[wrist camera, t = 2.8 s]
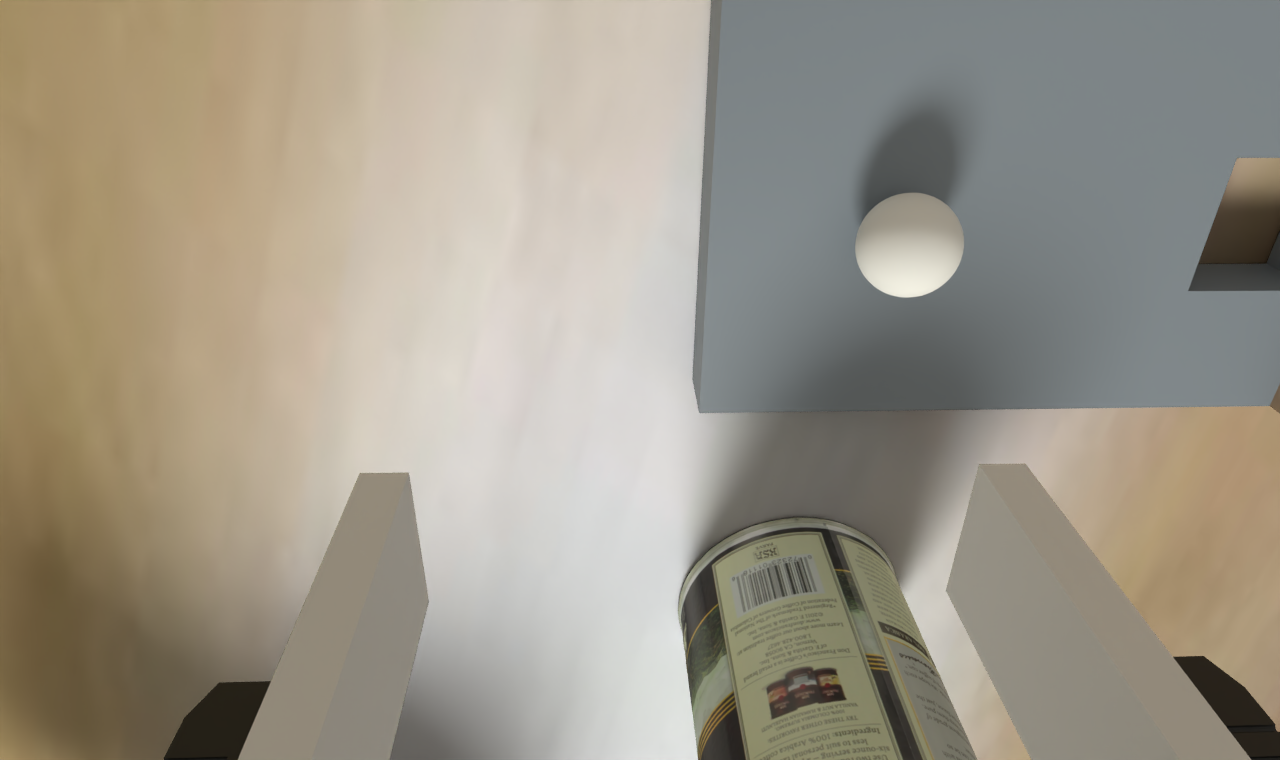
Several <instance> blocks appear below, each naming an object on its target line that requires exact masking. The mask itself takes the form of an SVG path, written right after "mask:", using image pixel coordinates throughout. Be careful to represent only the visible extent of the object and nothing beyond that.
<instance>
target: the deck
mask: <svg viewBox="0 0 1280 760" xmlns="http://www.w3.org/2000/svg"><path fill="white" fill-rule="evenodd" d="M1237 158H1280V0H711V16H710V36H709V56H708V77H707V97H706V117H705V137H704V158H703V178H702V198H701V219H700V239H699V259H698V280H697V300H696V320H695V340H694V361H693V384H694V389H695V394H696V399H697V404H698V409H699V413H735V412H816V411H897V410H978V409H1059V408H1141V407H1222V406H1271V407H1272V408H1273V409H1275V410H1276V411H1277V412H1279V413H1280V232H1279V234H1278V236H1277V239H1276V241H1275V244H1274V246H1273V249H1272V251H1271V254H1270V256H1269V258H1268V261H1267V263H1266V264H1198V262H1199V260H1200V257H1201V254H1202V252H1203V249H1204V246H1205V243H1206V241H1207V238H1208V235H1209V232H1210V230H1211V227H1212V224H1213V222H1214V219H1215V216H1216V213H1217V211H1218V208H1219V205H1220V203H1221V200H1222V197H1223V194H1224V192H1225V189H1226V186H1227V183H1228V181H1229V178H1230V175H1231V173H1232V170H1233V167H1234V164H1235V162H1236V159H1237ZM902 193H922V194H927V195H930V196H933V197H935V198H937V199H939V200H941V201H942V202H944V203H945V204H946V205H948V206H949V208H950V209H951V210H952V211H953V212H954V213H955V215H956V216H957V218H958V220H959V222H960V224H961V227H962V230H963V235H964V250H963V255H962V258H961V261H960V264H959V266H958V268H957V270H956V271H955V273H954V274H953V275H952V277H951V278H950V279H949V280H948V281H947V282H946V283H945V284H943V285H942V286H941V287H939V288H938V289H936V290H934V291H933V292H930V293H928V294H925V295H922V296H917V297H908V298H905V297H897V296H892V295H889V294H886V293H884V292H882V291H880V290H878V289H877V288H876V287H874V286H873V285H872V284H871V283H870V282H869V281H868V280H867V279H866V278H865V277H864V275H863V273H862V272H861V270H860V268H859V265H858V263H857V259H856V253H855V242H856V237H857V232H858V229H859V227H860V225H861V223H862V221H863V219H864V218H865V216H866V215H867V214H868V213H869V212H870V210H872V209H873V208H874V207H875V206H876V205H877V204H879V203H880V202H882V201H883V200H885V199H887V198H889V197H891V196H894V195H897V194H902Z"/></svg>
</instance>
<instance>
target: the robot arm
mask: <svg viewBox="0 0 1280 760" xmlns="http://www.w3.org/2000/svg"><path fill="white" fill-rule="evenodd" d="M946 592H947V594H948V596H949V598H950V600H951V602H952V603H953V605H954V607H955V609H956V611H957V613H958V615H959V617H960V619H961V621H962V623H963V625H964V627H965V629H966V631H967V633H968V635H969V637H970V639H971V641H972V643H973V645H974V647H975V649H976V651H977V653H978V655H979V657H980V659H981V661H982V663H983V665H984V667H985V669H986V671H987V673H988V675H989V677H990V679H991V681H992V683H993V685H994V687H995V689H996V690H997V692H998V694H999V696H1000V698H1001V700H1002V702H1003V704H1004V706H1005V708H1006V710H1007V712H1008V714H1009V716H1010V718H1011V720H1012V722H1013V724H1014V726H1015V728H1016V730H1017V732H1018V734H1019V736H1020V738H1021V740H1022V742H1023V744H1024V746H1025V748H1026V750H1027V752H1028V754H1029V756H1030V758H1031V760H1280V732H1277V731H1276V729H1275V723H1274V722H1273V721H1272V720H1271V719H1270V717H1269V716H1268V715H1267V714H1266V713H1265V711H1264V710H1263V709H1262V708H1261V707H1260V705H1259V704H1258V703H1257V702H1256V700H1255V699H1254V698H1253V697H1252V696H1251V694H1250V693H1249V692H1248V691H1247V690H1246V688H1245V687H1243V686H1242V685H1241V684H1239V683H1238V682H1237V681H1236V680H1234V679H1233V678H1232V677H1230V676H1229V675H1228V674H1226V673H1225V672H1224V671H1222V670H1221V669H1220V668H1218V667H1217V666H1216V665H1214V664H1213V663H1212V662H1211V661H1209V660H1208V659H1207V658H1205V657H1204V656H1188V657H1172V655H1171V654H1170V653H1169V651H1168V650H1167V649H1166V647H1165V646H1164V645H1163V643H1162V642H1161V641H1160V640H1159V638H1158V637H1157V636H1156V634H1155V633H1154V632H1153V630H1152V629H1151V628H1150V626H1149V625H1148V624H1147V622H1146V621H1145V620H1144V619H1143V617H1142V616H1141V615H1140V613H1139V612H1138V611H1137V609H1136V608H1135V607H1134V605H1133V604H1132V603H1131V602H1130V600H1129V599H1128V598H1127V596H1126V595H1125V594H1124V592H1123V591H1122V590H1121V588H1120V587H1119V586H1118V585H1117V583H1116V582H1115V581H1114V579H1113V578H1112V577H1111V575H1110V574H1109V573H1108V571H1107V570H1106V569H1105V568H1104V566H1103V565H1102V564H1101V562H1100V561H1099V560H1098V558H1097V557H1096V556H1095V554H1094V553H1093V552H1092V550H1091V549H1090V548H1089V547H1088V545H1087V544H1086V543H1085V541H1084V540H1083V539H1082V537H1081V536H1080V535H1079V533H1078V532H1077V531H1076V530H1075V528H1074V527H1073V526H1072V524H1071V523H1070V522H1069V520H1068V519H1067V518H1066V516H1065V515H1064V514H1063V513H1062V511H1061V510H1060V509H1059V507H1058V506H1057V505H1056V503H1055V502H1054V501H1053V499H1052V498H1051V497H1050V495H1049V494H1048V493H1047V492H1046V490H1045V489H1044V488H1043V486H1042V485H1041V484H1040V482H1039V481H1038V480H1037V478H1036V477H1035V476H1034V475H1033V473H1032V472H1031V471H1030V469H1029V468H1028V467H1027V465H1026V464H979V467H978V470H977V474H976V478H975V482H974V486H973V489H972V493H971V497H970V501H969V505H968V508H967V512H966V516H965V520H964V524H963V527H962V531H961V535H960V539H959V543H958V547H957V550H956V554H955V558H954V562H953V566H952V569H951V573H950V577H949V581H948V585H947V588H946ZM428 602H429V600H428V593H427V587H426V580H425V574H424V567H423V561H422V555H421V548H420V542H419V535H418V529H417V522H416V516H415V509H414V503H413V496H412V490H411V484H410V477H409V473H360V474H359V476H358V478H357V481H356V483H355V485H354V488H353V490H352V492H351V495H350V497H349V500H348V502H347V504H346V507H345V509H344V511H343V514H342V516H341V518H340V521H339V523H338V525H337V528H336V530H335V532H334V535H333V537H332V539H331V542H330V544H329V546H328V549H327V551H326V554H325V556H324V558H323V561H322V563H321V565H320V568H319V570H318V572H317V575H316V577H315V579H314V582H313V584H312V586H311V589H310V591H309V593H308V596H307V598H306V600H305V603H304V605H303V608H302V610H301V612H300V615H299V617H298V619H297V622H296V624H295V626H294V629H293V631H292V633H291V636H290V638H289V640H288V643H287V645H286V647H285V650H284V652H283V654H282V657H281V659H280V662H279V664H278V666H277V669H276V671H275V673H274V676H273V678H272V680H271V681H265V682H225V683H218V684H217V685H216V686H215V687H214V688H213V689H212V690H211V691H210V693H209V694H208V695H207V696H206V697H205V698H204V699H203V700H202V701H201V702H200V703H199V704H198V705H197V706H196V707H195V708H194V709H193V710H192V711H191V712H190V713H189V714H188V715H187V716H186V717H185V718H184V720H183V722H182V724H181V726H180V728H179V730H178V732H177V734H176V736H175V738H174V740H173V741H172V743H171V745H170V747H169V749H168V751H167V753H166V755H165V757H164V760H390V756H391V752H392V748H393V744H394V740H395V736H396V732H397V728H398V724H399V720H400V715H401V711H402V707H403V703H404V699H405V695H406V691H407V687H408V683H409V679H410V675H411V671H412V667H413V663H414V659H415V655H416V651H417V647H418V643H419V639H420V635H421V631H422V627H423V623H424V619H425V615H426V611H427V606H428Z"/></svg>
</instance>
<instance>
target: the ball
mask: <svg viewBox="0 0 1280 760" xmlns="http://www.w3.org/2000/svg"><path fill="white" fill-rule="evenodd" d="M963 250H964V235H963V230H962V227H961V224H960V222H959V220H958V218H957V216H956V215H955V213H954V212H953V211H952V210H951V209H950V208H949V206H948V205H946V204H945V203H944V202H942V201H941V200H939V199H937V198H935V197H933V196H930V195H927V194H922V193H902V194H897V195H894V196H891V197H889V198H887V199H885V200H883V201H882V202H880V203H879V204H877V205H876V206H875V207H874V208H873V209H872V210H870V212H869V213H868V214H867V215H866V216H865V218H864V219H863V221H862V223H861V225H860V227H859V229H858V232H857V237H856V242H855V253H856V259H857V263H858V265H859V268H860V270H861V272H862V273H863V275H864V277H865V278H866V279H867V280H868V281H869V282H870V283H871V284H872V285H873V286H874V287H876V288H877V289H878V290H880V291H882V292H884V293H886V294H889V295H892V296H897V297H905V298H908V297H917V296H922V295H925V294H928V293H930V292H933V291H934V290H936V289H938V288H939V287H941V286H942V285H943V284H945V283H946V282H947V281H948V280H949V279H950V278H951V277H952V275H953V274H954V273H955V271H956V270H957V268H958V266H959V264H960V261H961V258H962V255H963Z"/></svg>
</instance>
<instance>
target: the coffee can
mask: <svg viewBox="0 0 1280 760" xmlns="http://www.w3.org/2000/svg"><path fill="white" fill-rule="evenodd" d="M678 616H679V622H680V626H681V630H682V632H683V642H684V649H685V656H686V666H687V673H688V681H689V689H690V697H691V704H692V712H693V720H694V728H695V736H696V745H697V753H698V760H977V758H976V756H975V753H974V751H973V749H972V747H971V744H970V742H969V740H968V738H967V736H966V733H965V731H964V729H963V727H962V725H961V722H960V720H959V718H958V716H957V714H956V711H955V709H954V707H953V705H952V703H951V700H950V698H949V696H948V694H947V691H946V689H945V687H944V685H943V682H942V680H941V677H940V675H939V673H938V671H937V669H936V667H935V665H934V662H933V660H932V658H931V656H930V653H929V651H928V649H927V647H926V645H925V642H924V640H923V638H922V636H921V633H920V631H919V629H918V627H917V624H916V622H915V620H914V618H913V615H912V613H911V611H910V609H909V607H908V604H907V602H906V600H905V598H904V596H903V594H902V591H901V589H900V587H899V584H898V582H897V579H896V575H895V572H894V569H893V566H892V564H891V562H890V560H889V558H888V557H887V556H886V554H885V553H884V551H883V550H882V549H881V548H880V547H879V546H878V545H877V544H876V543H875V542H874V541H873V540H872V539H871V538H870V537H868V536H866V535H864V534H862V533H861V532H859V531H857V530H856V529H854V528H851V527H849V526H846V525H844V524H842V523H838V522H834V521H829V520H825V519H818V518H797V517H792V518H787V519H781V520H775V521H769V522H765V523H761V524H758V525H754V526H751V527H749V528H746V529H744V530H741V531H739V532H737V533H735V534H733V535H731V536H729V537H728V538H726V539H724V540H723V541H721V542H720V543H719V544H717V545H716V546H714V547H713V548H711V549H710V550H709V551H708V552H707V553H706V554H705V555H704V556H703V558H702V559H701V560H699V561H698V562H697V564H696V565H695V566H694V568H693V569H692V570H691V572H690V573H689V575H688V577H687V578H686V581H685V583H684V585H683V588H682V591H681V594H680V598H679V606H678Z"/></svg>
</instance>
